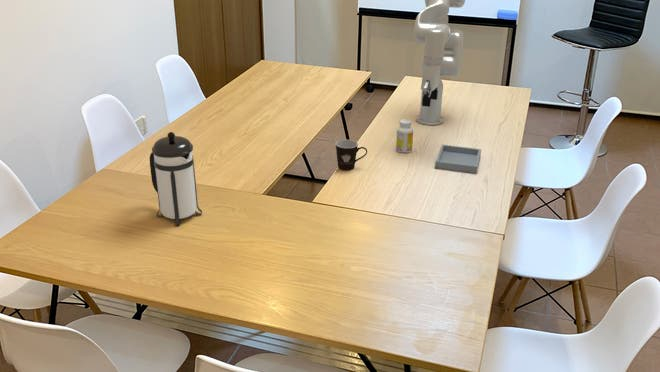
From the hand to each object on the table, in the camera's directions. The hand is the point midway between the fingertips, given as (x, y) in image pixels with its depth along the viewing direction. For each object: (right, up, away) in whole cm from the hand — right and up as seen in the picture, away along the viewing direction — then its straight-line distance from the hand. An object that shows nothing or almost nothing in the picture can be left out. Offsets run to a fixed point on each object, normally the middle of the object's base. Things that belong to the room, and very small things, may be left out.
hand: (429, 102), depth 257 cm
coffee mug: (-32, -26, -5) cm, 42 cm away
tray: (+12, -24, +1) cm, 26 cm away
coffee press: (-91, -43, -40) cm, 109 cm away
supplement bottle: (-9, -19, +11) cm, 24 cm away
